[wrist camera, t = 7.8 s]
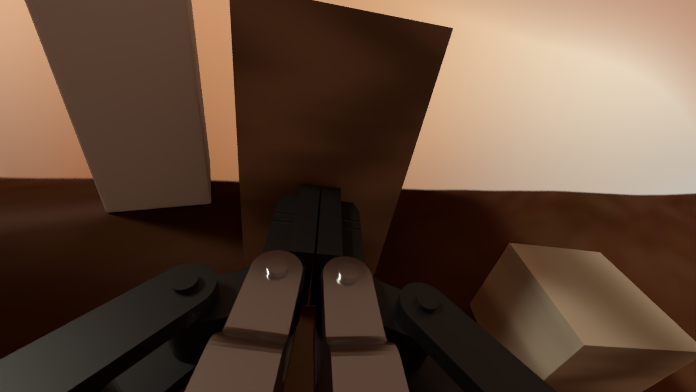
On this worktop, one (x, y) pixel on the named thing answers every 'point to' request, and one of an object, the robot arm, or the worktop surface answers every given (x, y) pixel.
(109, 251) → the worktop surface
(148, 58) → the milk
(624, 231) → the worktop surface
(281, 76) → the walnut panel
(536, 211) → the worktop surface
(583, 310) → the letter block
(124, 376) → the robot arm
